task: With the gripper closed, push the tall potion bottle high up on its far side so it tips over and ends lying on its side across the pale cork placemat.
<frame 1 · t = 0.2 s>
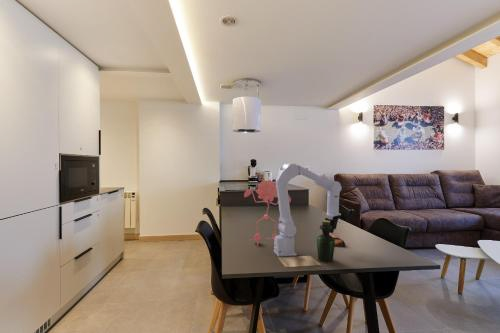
hand: (332, 230, 134), 10 cm above the table, tool pointing down, fingers open, 7 cm apart
figurine: (266, 242, 147), on the table
potion bottle: (325, 260, 121), on the table
sunglasses case: (331, 243, 149), on the table
placemat: (298, 261, 119), on the table
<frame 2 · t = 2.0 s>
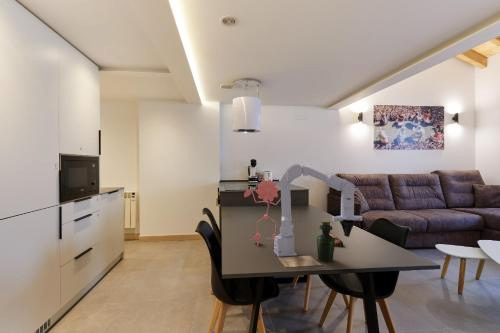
hand: (346, 236, 123), 10 cm above the table, tool pointing down, fingers closed
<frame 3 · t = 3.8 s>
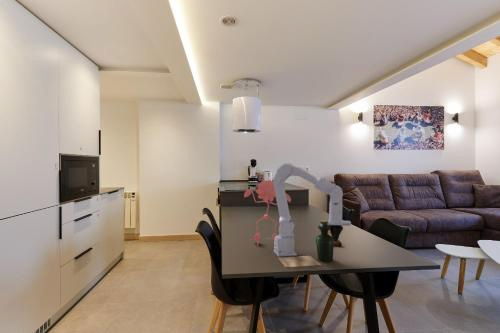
hand: (335, 241, 122), 8 cm above the table, tool pointing down, fingers closed
potion bottle: (325, 260, 121), on the table, touching gripper
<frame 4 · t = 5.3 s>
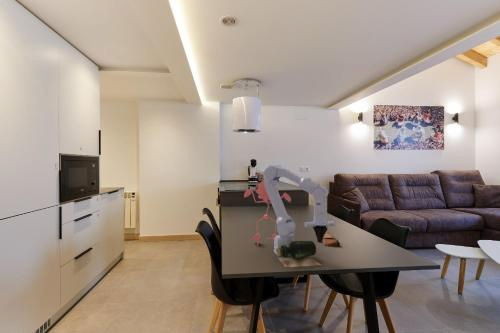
hand: (319, 242, 120), 8 cm above the table, tool pointing down, fingers closed
potion bottle: (312, 247, 125), point 4 cm above the table, touching arm, placemat
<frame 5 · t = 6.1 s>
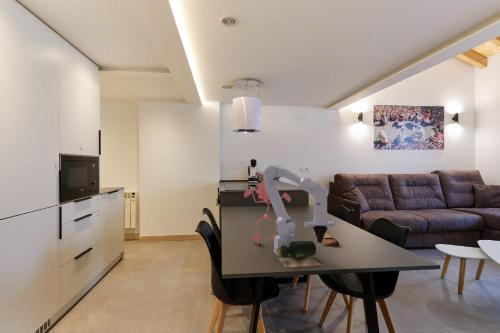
hand: (319, 242, 120), 8 cm above the table, tool pointing down, fingers closed
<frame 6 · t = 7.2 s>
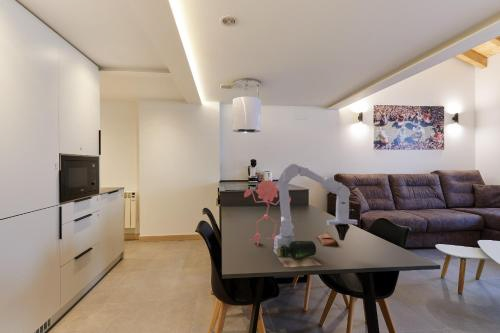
hand: (341, 239, 124), 9 cm above the table, tool pointing down, fingers closed
potion bottle: (312, 247, 125), point 4 cm above the table, touching placemat
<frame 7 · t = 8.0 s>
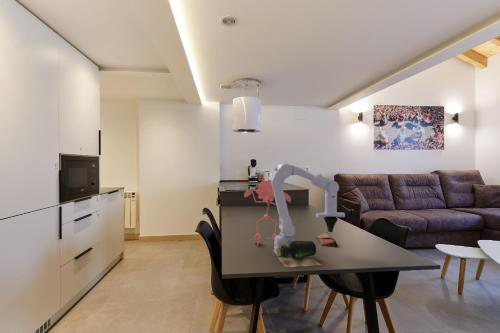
hand: (330, 231, 131), 10 cm above the table, tool pointing down, fingers closed
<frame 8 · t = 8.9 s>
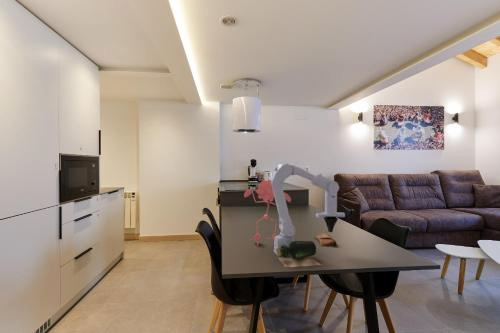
hand: (330, 231, 131), 10 cm above the table, tool pointing down, fingers closed
at the end: potion bottle tilted 90°; potion bottle touching placemat; potion bottle inside the target area (4.5 cm from its centre), point 4.3 cm above the table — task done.
